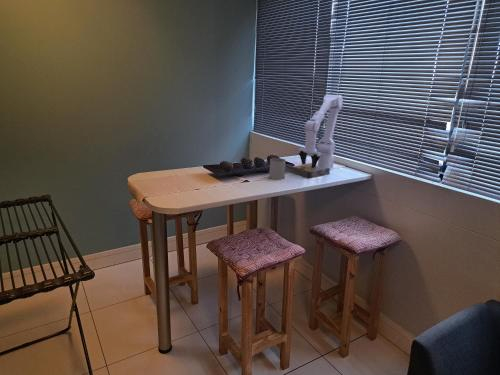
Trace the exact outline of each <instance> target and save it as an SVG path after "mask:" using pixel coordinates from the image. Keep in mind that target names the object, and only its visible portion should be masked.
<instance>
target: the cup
mask: <svg viewBox="0 0 500 375" xmlns="http://www.w3.org/2000/svg"><path fill="white" fill-rule="evenodd" d="M285 164H286V159H285V158H281V157H272V158H270V159H269V176H268V178H269V179H272V180H276V181H277V180H280V181H281V180H284V179H285V174H286V171H285Z"/></svg>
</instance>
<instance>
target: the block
mask: <svg viewBox="0 0 500 375" xmlns="http://www.w3.org/2000/svg"><path fill="white" fill-rule="evenodd" d="M299 166H300V169H303V170H307V171H314V170H317V168H316V167H317V165H316V166H315V168H312V162H309V163H305V164H303V165H302V164H299Z"/></svg>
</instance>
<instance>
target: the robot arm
mask: <svg viewBox="0 0 500 375" xmlns="http://www.w3.org/2000/svg"><path fill="white" fill-rule="evenodd" d="M343 103H344V100H343V96H342V95H341V94H339V95H338V94H328V93H327V94H324V96H323V100H322V105H321V106H320V108H319V110H318V111H315V113H314V114H313V115H312V117H311V118H310V119H309V120H308V121H306V122H305V124H304V127H303V128H304V134H305V143H304V148H303V147H300V148H298V155H299V158H300V161H301V165H303V164H307V163H306V162H307V157H308V154H310V157H311V158H310V159H311V163H312V168H315V166H316V169H318V170H319V169H324V168H330V170H331V168H332V169H334V162H335V157H334V155H333V154H334V153H335V149H336V147H335V146H336V143H335V141H334V140H333V135H334V132H335V127H336V124H337V119H338V115H339V112H340V111H342V108H343ZM327 111H329V113H328V117H327V122H326V124H325V125H326V126H325V130H324V135H323V137H322V138H321V139H319V140H318V143H317V134H318V133H317V132H318V131H319V130H320V126H321V123H322V122H323V120H324V119H325V114H326V112H327ZM316 143H317V144H316Z"/></svg>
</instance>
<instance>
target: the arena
mask: <svg viewBox="0 0 500 375" xmlns="http://www.w3.org/2000/svg"><path fill="white" fill-rule="evenodd" d="M330 171H331V169H330V168H324V169H319V168H318V169H316V170H314V171H307V170H303V169H300V165H296V166H293V165H290V164H286V163H285V172H287V173H291V174H294V175H297V176H300V177H303V178H307V179H313V178H318V177H322V176H326V175H327V176H328V175H330Z"/></svg>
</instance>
